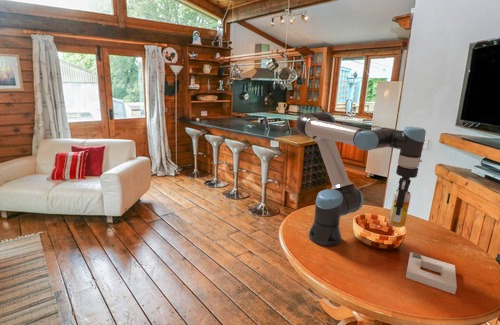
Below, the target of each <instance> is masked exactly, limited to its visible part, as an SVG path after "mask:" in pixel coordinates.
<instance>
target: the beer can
mask: <svg viewBox="0 0 500 325" xmlns="http://www.w3.org/2000/svg"><path fill="white" fill-rule="evenodd" d="M398 192H399V190H398V189H395V191H394V193H393V197H392V203H391V208H390V213H389V218H388V222H389V225H390V226H392V227H394V228H403V227H404V226H405V225H406V221H407V220H406V219H407V215H408V211H409V207H410V201H411V196H412V195H411V192H410V191H409V190H408V191H407V192H406V194H405V199H404V204H403V211H402V216H401V221H400V223H399V222H395V221H393V217H394V212H395V207H394V205H396V202H397V197H398Z"/></svg>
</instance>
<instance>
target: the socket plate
mask: <svg viewBox="0 0 500 325" xmlns="http://www.w3.org/2000/svg"><path fill="white" fill-rule="evenodd" d="M407 262H408V263H407V267H406V273H405V274H406V275H405V278H407V279H409V280H411V281H414V282H417V283H421V284H423V285H426V286H428V287H433V288H435V289H438V290H440V291H444V292H447V293H450V294H452V295H456V292H457V288H458V286H457V276H456V265H455V264H452V263H448V262H445V261H442V260H438V259H435V258H432V257H429V256H425V255H422V254H419V253H415V252H412V251H411V252H409V257H408V261H407ZM421 268H424V269H426V270H430V271H433V272H436V273H439V274H440V275H438V274H435V273H433V272H429V271H426V270H423V269H421Z"/></svg>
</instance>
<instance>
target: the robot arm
mask: <svg viewBox="0 0 500 325" xmlns="http://www.w3.org/2000/svg"><path fill="white" fill-rule="evenodd" d="M295 130H296V131H297V133H298V134H300V135H302V136H305V137H310V138H312V140H313V142H315V143H316V144H317V146H318V148H319V152H320V154H321V157H322V160H323V163H324V166H325V168H326V171H327V175H328V177H329V180H330V183H331V185H332V186H331V188H330V189H323V190H320V191H319V192H318V193H317V195H316V199H315V206H314V207H315V209H314V218H313V223H312V225H311V227H310V229H309V232H308V238H309V240H310V241H312V242H313V243H314V244H316V245H319V246H322V247H335V246H338V245H339V244H341V242H342V234H341V230H340V220H341V217H343V216H346V215H350V214H353V213H356V212H357V211H359V210H361V209H362V207H363V205H364V203H365V199H364V195H363V192H362V191H361V190H360V189H359V188H357V187H356V186H355V184H354V182H352V181H351V180H350V179H349V176H348V174H347V170H346V169H345V166H344V165H345V164H344V162H343V160H342V157H341V154H340V152H339V148H338V146H337V144H336V142H338V143H342V144H345V145H349V146H354V147H356V148H357V149H359V150H360V151H371V150H372V151H373V150H377V149H383V148H392V149H395V150H396V149H397V150H399V155H398V160H397V164H398V165H397V166H396V171H395V174H396V175H398V176H400V178H399V179H398V180H399V181H398V187H397V190H399V192H398V197H397V202H396V205H394V207H395V212H394V217H393V221H395V222H399V223H400V221H401V216H402V211H403V204H404V199H405V194H406V192H407V191H408V192H409V189H410V188H409V187H410V185H411V181H412V180H411V179H414V178H417V176H418V172H419V167H420V163H421V162H423V160H422V158H421V157H422V153H423V149H424V145H425V141H426V133H427V132H426V129H424V127H418V126H416V127H415V126H406V127H404V129H403V130H401V129H394V128H389V127H376V129H366V128H362V127H361V128H360V127H356V126H350V125H345V124H340V123H337V122H336V118H335V117H334V115H332V114H331V113H330V112H325V111H319V112H304V113H302V114H300V115H299V116H298V117H297V118H296V120H295Z"/></svg>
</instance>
